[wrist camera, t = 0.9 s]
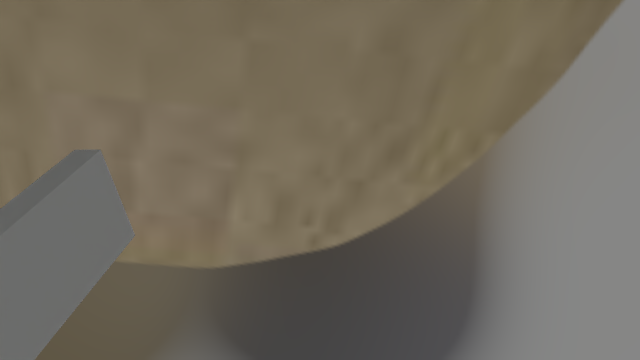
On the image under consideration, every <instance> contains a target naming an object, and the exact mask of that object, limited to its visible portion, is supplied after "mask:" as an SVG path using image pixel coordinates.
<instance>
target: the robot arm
mask: <svg viewBox="0 0 640 360" xmlns="http://www.w3.org/2000/svg"><path fill="white" fill-rule="evenodd" d="M134 236H135V234H134V232H133V229H132V227H131V224H130V222H129V219H128V217H127V214H126V212H125V209H124V207H123V204H122V202H121V199H120V197H119V194H118V192H117V189H116V187H115V185H114V182H113V180H112V177H111V175H110V172H109V170H108V167H107V165H106V162H105V160H104V157H103V155H102V152H101V150H74V151H73V152H71V153H70V154H69V155H68V156H66V157H65V158H64V159H63V160H61V161H60V162H59V163H58V164H56V165H55V166H54V167H52V168H51V169H50V170H49V171H47V172H46V173H45V174H44V175H42V176H41V177H40V178H39V179H37V180H36V181H35V182H34V183H32V184H31V185H30V186H29V187H27V188H26V189H25V190H24V191H22V192H21V193H20V194H19V195H17V196H16V197H15V198H14V199H12V200H11V201H10V202H9V203H7V204H6V205H5V206H4V207H2V208H1V209H0V360H34V359H35V358H36V357H37V356H38V354H39V353H40V352H41V351H42V349H43V348H44V347H45V346H46V345H47V343H48V342H49V341H50V340H51V338H52V337H53V336H54V335H55V333H56V332H57V331H58V330H59V329H60V327H61V326H62V325H63V323H64V322H65V321H66V320H67V319H68V317H69V316H70V315H71V314H72V313H73V311H74V310H75V309H76V308H77V306H78V305H79V304H80V303H81V301H82V300H83V299H84V298H85V296H86V295H87V294H88V293H89V292H90V290H91V289H92V288H93V287H94V285H95V284H96V283H97V282H98V280H99V279H100V278H101V277H102V276H103V274H104V273H105V272H106V271H107V269H108V268H109V267H110V266H111V264H112V263H113V262H114V261H115V260H116V258H117V257H118V256H119V255H120V253H121V252H122V251H123V250H124V248H125V247H126V246H127V245H128V244H129V242H130V241H131V240H132V239H133V237H134Z"/></svg>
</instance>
